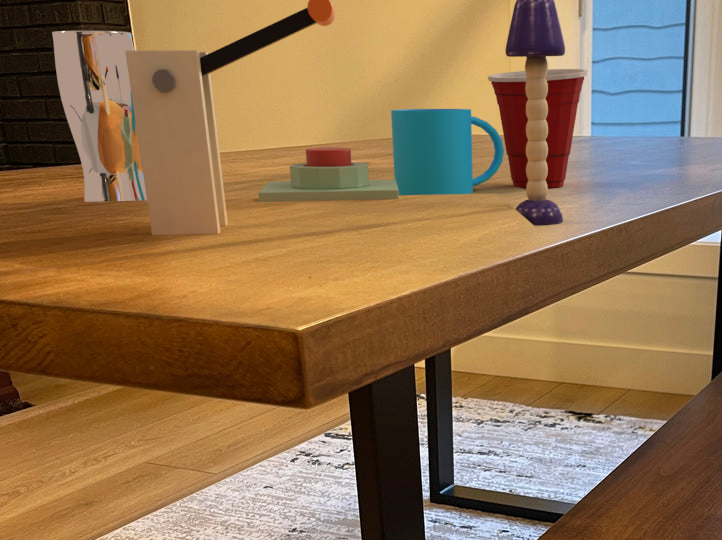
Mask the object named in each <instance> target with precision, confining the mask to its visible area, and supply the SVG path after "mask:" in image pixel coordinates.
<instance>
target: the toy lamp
mask: <svg viewBox="0 0 722 540" xmlns="http://www.w3.org/2000/svg"><path fill="white" fill-rule="evenodd" d="M565 54H566V45H565V41H564V36H563V31H562V28H561V23H560V19H559V14H558V9H557V5H556V2H555V0H516V1H515V2H514V7H513V10H512V15H511V20H510V25H509V30H508V34H507V38H506V44H505V56H506V57H507V58H516V57H517V58H522V57H524V58H526V59H525V64H524V71H525V72H526V75H527V78H528V79H527V82H526V88H525V90H526V95H527V98H528V101H527V103H526V115H527V118H528V122H527V125H526V135H527V138H528V142H527V145H526V156H527V158H528V163H527V166H526V175H527V178H528V183H527V187H526V188H525V190H526V191H525V192H526V197H527V199H525V200H523V201H521V202H520V203H519V204H518V205H517V206H516V207H515V211H517V213H518V214H520V215H521V216H523V218H524V219H526V221H528V222H529V223H530V224H531V225H532V226H554V225H560V224H563V222H564V218H563V214H562V211H561V208H560V207H559V206H558V204H556V203H555V202H554V201H552V200H550V199H546V198H547V196H548V192H549V191H548V190H549V188H548V187H547V183H546V181H545V180H546V177H547V173H548V167H547V163H546V161H545V160H546V158H547V154H548V146H547V142H546V138H547V135H548V124H547V121H546V117H547V114H548V105H547V101H546V96H547V93H548V84H547V81H546V79H545V77H546V75H547V72H548V70H549V64H548V63H549V62H548V60H547V57H562V56H565Z"/></svg>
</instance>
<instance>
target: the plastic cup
mask: <svg viewBox="0 0 722 540" xmlns="http://www.w3.org/2000/svg"><path fill="white" fill-rule="evenodd" d="M587 75H588V69H581V68H557V69H556V68H555V69H553V68H552V69H548V72H547V75H546V77H545V79H546V81H547V84H548V93H547V96H546V101H547V105H548V114H547V117H546V121H547V124H548V135H547V138H546V142H547V146H548V154H547V158H546V160H545V161H546V163H547V167H548V173H547V177H546V180H545V181H546V183H547V187H548V189H550V188H552V189H553V188H561V187H564V183H565V180H566V176H567V170H568V164H569V157H570V155H571V149H572V143H573V138H574V131H575V126H576V125H575V124H576V118H577V112H578V105H579V103H580V98H581V93H582V90H583V89H582V88H583V84H584V80H585V77H587ZM527 79H528V78H527V75H526V72H525V70H522V71H521V70H520V71H519V70H518V71H509V72H499V73H494V74H488V75H487V80H488V82H490V83H491V85H492V88H493V91H494V95H495V97H496V103H497V105H498V111H499V116H500V121H501V122H500V123H501V129H502V134H503V140H504V144H505V145H504V146H505V151H506V155H507V157H508V158H507V160H508V165H509V172H510V179H511V181H512V186H513V187H515V188H523V189H526V187H527V183H528V178H527V175H526V166H527V163H528V158H527V156H526V145H527V142H528V138H527V135H526V125H527V122H528V118H527V115H526V103H527V101H528V98H527V95H526V90H525V88H526V82H527Z"/></svg>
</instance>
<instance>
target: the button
mask: <svg viewBox="0 0 722 540" xmlns="http://www.w3.org/2000/svg"><path fill="white" fill-rule="evenodd" d="M305 159H306V160H305V161H306V163H307V166H309V167H338V166H350V165H352V163H351V162H352V151H351V148H350V147H337V146H336V147H332V146H331V147H330V146H329V147H310V148H309V147H308V148H306V149H305Z"/></svg>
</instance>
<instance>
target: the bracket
mask: <svg viewBox="0 0 722 540" xmlns="http://www.w3.org/2000/svg"><path fill="white" fill-rule="evenodd" d="M125 52H126V59H127V66H128V73H129V80H130V87H131V94H132V100H133V107H134V114H135V121H136V128H137V135H138V142H139V149H140V155H141V162H142V169H143V176H144V183H145V190H146V197H147V200H146V205H147V210H148V217H149V224H150V230H151V235H152V236H173V235H174V236H175V235H177V236H178V235H180V236H181V235H214V234H215V235H216V234H220V233H221V227H227V226H228V224H229V223H228V213H227V204H226V196H225V188H224V180H223V169H222V163H221V154H220V153H221V152H220V145H219V137H218V136H219V135H218V129H217V128H218V127H217V120H216V119H217V118H216V110H215V103H214V93H213V83H212V75H211V73H210V74H207V75H205V76H203V77H202V73H201V65H200V58H201V57H203V56H205V55H207V54H209V52H207V51H199V50H197V49H180V50H179V49H168V50H167V49H166V50H164V49H162V50H161V49H160V50H159V49H155V50H154V49H153V50H152V49H151V50H150V49H149V50H148V49H147V50H146V49H145V50H143V49H142V50H141V49H140V50H139V49H138V50H137V49H134V50H126V51H125Z"/></svg>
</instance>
